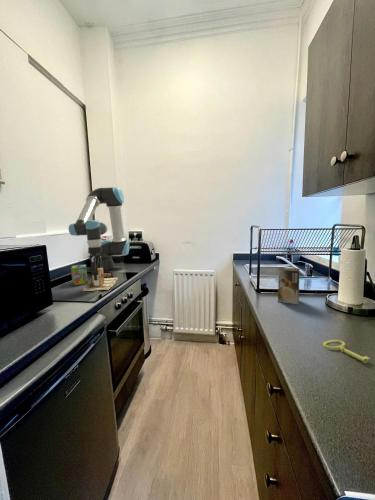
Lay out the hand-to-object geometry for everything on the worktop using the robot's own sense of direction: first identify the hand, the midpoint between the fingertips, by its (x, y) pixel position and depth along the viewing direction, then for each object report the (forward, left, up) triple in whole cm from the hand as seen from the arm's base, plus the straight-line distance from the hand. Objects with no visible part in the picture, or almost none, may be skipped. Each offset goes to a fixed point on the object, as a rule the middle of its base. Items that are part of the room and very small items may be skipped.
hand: (98, 283), depth 138 cm
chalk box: (-12, -16, -3) cm, 20 cm away
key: (+77, +97, -3) cm, 124 cm away
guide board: (-4, 0, -3) cm, 5 cm away
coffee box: (+37, +101, -3) cm, 108 cm away
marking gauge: (0, +2, -1) cm, 3 cm away
